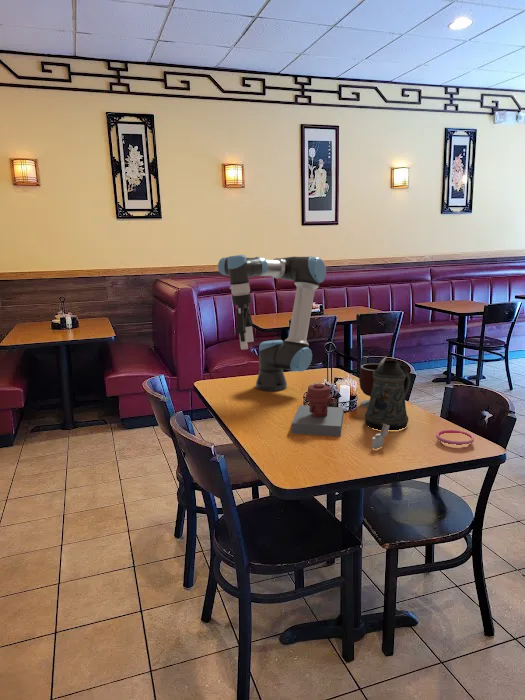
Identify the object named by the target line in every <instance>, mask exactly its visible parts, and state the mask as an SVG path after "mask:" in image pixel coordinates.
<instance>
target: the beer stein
mask: <svg viewBox="0 0 525 700" xmlns="http://www.w3.org/2000/svg"><path fill="white" fill-rule="evenodd" d="M373 378H374V383H373V387H372V392H371V397H370V396H369V400H370V401H369V405H368V408H366V411H365V413H364V420H365V423H366V424H365V425H367V426H369V427H371V428H374V429H378V430H382V427H383V424H386V425H389V426H390V427H389V430H399V429H402V428H405V427H406V426H408V423H409V416H408V413H407V408H406V407H407V405H406V397H407V395H408V393H409V390H410V387H411V376H410V373H409V371H408V370H406V366H405V365H404V364H401V363H398V362H397V361H396V360H385V362H384V364H383V365H382V366H380V367H379V368H377V369H376V370H375V371H374V372H373ZM367 426H366V427H367ZM369 427H368V428H369ZM406 428H407V427H406Z"/></svg>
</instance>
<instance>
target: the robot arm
mask: <svg viewBox="0 0 525 700" xmlns="http://www.w3.org/2000/svg"><path fill="white" fill-rule="evenodd" d="M217 270H218V272H219V273H220V274H221V275H222V276H223V275H224V276H228V277H229V282H230V283H229V284H230V287H229V290H231V300H232V304H233V306H238V307H237V308H236V309H235V310H236V311H235V312H236V323H237V324H236V325H237V327H236V328H237V330H236V334H238V335H239V336H238V337H239V345H240V350H248V349H249V346H248V345H249V344H248V343H253V342H255V341H254V333H253V331H254V330H253V327H254V326H255V325H254V323H253V318H252V316H251V310H250V306H249V305H250V304H251V303H252V297H251V296H252V295H251V293H250V292H251V287H250V279H249V278H252V277H272V278H274V279H281V280H286V281H292V282H294V285H295V286H296V287H295V288H296V291H295V297H294V301H293V302H294V303H293V307H292V314H291V320H290V326H289V332H288V337H287V338H286V339H284V340H282V339H274V340H273V339H272V340H266V341H262V342H261V343H260V342H259V347H258V349H259V350H258V358H259V359H258V362H259V363H258V365H259V371H258V376H257V379H256V381H255V388H256V389H258V390H259V391H265V392H266V391H267V392H278V391H282V390H283V391H284V390H285V389H287V379H286V377H285V374H284V370H287V371H292V372H304V371H306V370H307V369H308V368H309V367H310V365H311V362H312V360H313V353H312V350H311V349H310V348H309V346H310V344H309V342H308V340H307V338H308V333H309V327H310V321H311V314H312V310H313V303H314V297H315V293H316V290H317V289H319V287H320V283H323V282H325V279H326V277H327V267H326V263H325V262H324V261H323V259H322V258H321V257H319V256H287V257H275V258H273V259H267V258H265V257H263V256H256V257H247V256H246V255H245V254H237V255H231V256H228V257H227V256H226V257H222V258H220V259H219V261H218V264H217Z"/></svg>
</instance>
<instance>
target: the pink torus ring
mask: <svg viewBox="0 0 525 700" xmlns="http://www.w3.org/2000/svg"><path fill="white" fill-rule="evenodd" d="M444 433H462V434H465V435H467V436H469V437H470V438H471V440H469V441H451V440H446V439H443V438H441V437H440V435H441V434H444ZM435 436H436V439H437V441H439V440H440V441H442V442H444V443H448V444H456V445H462V444H469V443H471V444H473V442H474V441H475V437H474V436H473V434H471V433H469V432H467V431H464V430H463V431H462V430H457V429H443V430H439V431H437V432H436V434H435ZM440 441H439V442H440Z"/></svg>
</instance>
